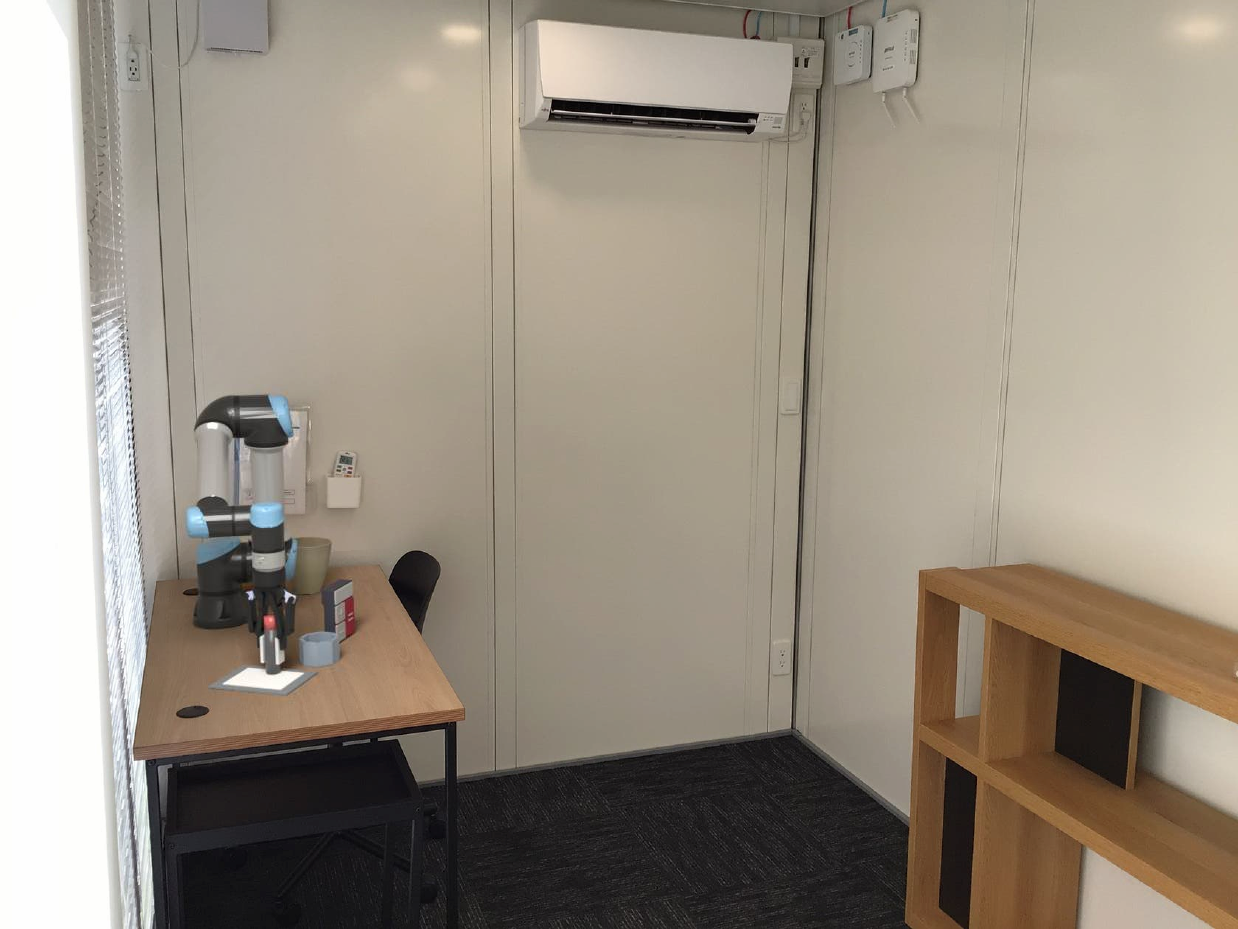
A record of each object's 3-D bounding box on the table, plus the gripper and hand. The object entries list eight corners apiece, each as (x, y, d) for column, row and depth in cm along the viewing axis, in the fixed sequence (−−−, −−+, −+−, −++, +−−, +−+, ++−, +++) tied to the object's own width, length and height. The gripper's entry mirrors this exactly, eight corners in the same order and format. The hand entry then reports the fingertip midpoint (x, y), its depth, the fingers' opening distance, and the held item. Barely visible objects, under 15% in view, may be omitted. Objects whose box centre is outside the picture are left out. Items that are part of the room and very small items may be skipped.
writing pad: (208, 688, 242) (208, 685, 242) (243, 666, 256) (243, 664, 256) (286, 695, 238) (286, 693, 238) (318, 673, 252) (317, 671, 252)
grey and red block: (337, 645, 273) (336, 590, 270) (322, 644, 273) (320, 589, 271) (356, 632, 283) (354, 579, 281) (341, 631, 284) (340, 578, 282)
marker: (263, 673, 249) (260, 617, 247) (271, 668, 253) (268, 613, 250) (275, 674, 249) (273, 618, 246) (283, 670, 252) (281, 614, 250)
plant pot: (316, 600, 313) (314, 549, 310) (273, 595, 317) (271, 545, 314) (342, 587, 327) (341, 538, 325) (301, 583, 331) (299, 534, 329)
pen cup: (294, 664, 258) (293, 641, 257) (311, 653, 267) (311, 630, 266) (327, 668, 256) (327, 644, 255) (344, 656, 265) (343, 633, 264)
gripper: (229, 569, 244) (233, 664, 248) (292, 573, 241) (295, 670, 245) (246, 561, 252) (250, 654, 255) (308, 566, 248) (311, 659, 252)
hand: (272, 661), depth 250 cm, fingers closed on marker, 3 cm apart
